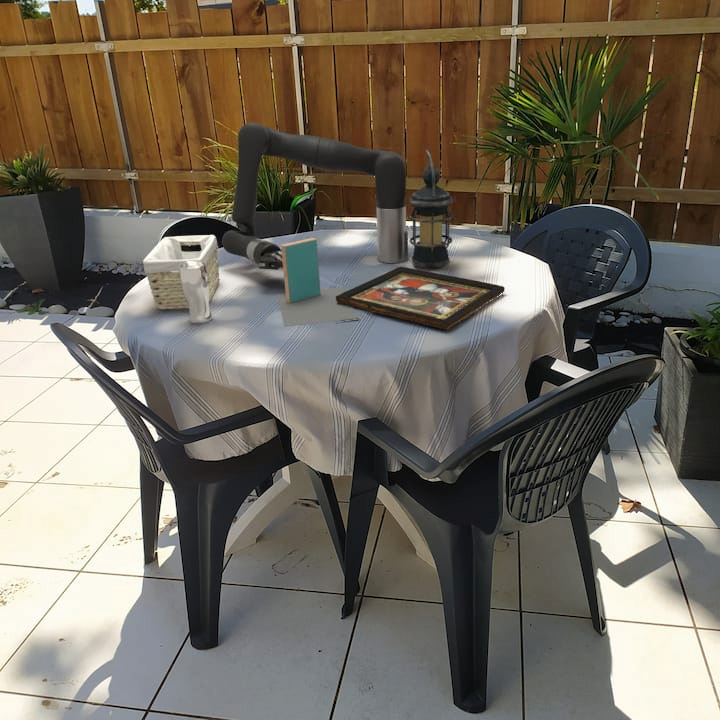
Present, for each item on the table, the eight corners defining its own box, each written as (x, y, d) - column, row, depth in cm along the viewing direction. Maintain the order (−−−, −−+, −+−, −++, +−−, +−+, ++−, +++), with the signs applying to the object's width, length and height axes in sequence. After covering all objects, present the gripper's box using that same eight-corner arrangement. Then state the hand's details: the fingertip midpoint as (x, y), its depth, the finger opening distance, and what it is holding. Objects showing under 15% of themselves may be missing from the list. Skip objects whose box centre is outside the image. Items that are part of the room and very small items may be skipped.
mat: (343, 289, 189) (343, 287, 188) (358, 320, 167) (358, 318, 167) (277, 296, 186) (277, 294, 185) (284, 328, 164) (284, 326, 164)
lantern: (454, 272, 198) (457, 152, 183) (410, 273, 199) (409, 154, 183) (449, 257, 211) (451, 145, 196) (408, 259, 212) (407, 146, 196)
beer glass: (217, 314, 175) (209, 260, 168) (209, 324, 169) (201, 268, 162) (192, 314, 176) (183, 260, 169) (183, 324, 170) (174, 269, 163)
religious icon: (509, 288, 183) (510, 279, 182) (460, 335, 156) (461, 324, 155) (389, 271, 201) (389, 262, 200) (327, 310, 174) (326, 300, 173)
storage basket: (208, 310, 178) (200, 258, 172) (149, 312, 178) (139, 260, 172) (224, 281, 200) (217, 233, 193) (171, 283, 200) (162, 236, 193)
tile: (286, 301, 180) (281, 244, 173) (317, 293, 185) (313, 237, 178) (290, 303, 178) (284, 246, 171) (321, 295, 183) (317, 239, 176)
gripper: (242, 245, 189) (271, 258, 176) (282, 236, 196) (312, 249, 183) (245, 270, 192) (273, 285, 180) (284, 261, 199) (314, 274, 186)
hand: (293, 267), depth 181 cm, fingers closed
